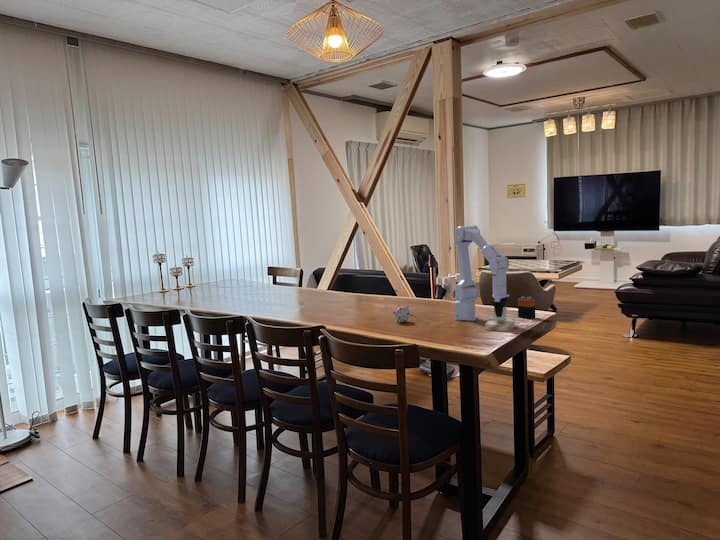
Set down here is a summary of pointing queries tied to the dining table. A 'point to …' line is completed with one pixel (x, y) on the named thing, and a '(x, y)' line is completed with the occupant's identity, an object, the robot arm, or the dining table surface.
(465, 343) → the dining table surface
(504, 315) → the mint block
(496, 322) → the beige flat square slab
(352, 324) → the dining table surface
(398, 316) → the grey spiky ball
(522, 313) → the battery
